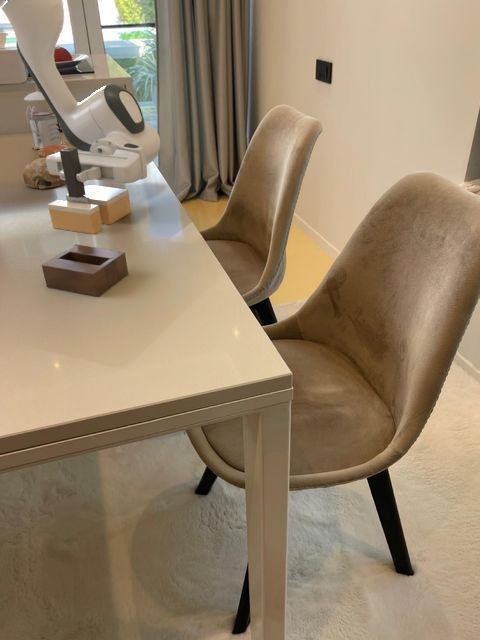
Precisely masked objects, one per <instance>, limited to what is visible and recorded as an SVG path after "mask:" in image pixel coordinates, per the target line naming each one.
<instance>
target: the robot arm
mask: <svg viewBox="0 0 480 640" xmlns="http://www.w3.org/2000/svg"><path fill="white" fill-rule="evenodd" d="M0 9H1V10H2V12H3V13H4V14H5V16H6V18H7V19H8V22H9V24H10V25H11V27H12V30H13V32H14V35H15V38H16V49H17V52H18V55H19V57H20V59H21V61H22V63H23V64H24V67H25V68H26V70H27V72H28V73H29V75H30V77H31V78H32V80H33V82H34V84H35V83H36V85H35V86H37V89H38V90H39V92H41V93H42V95H43V96H44V98H45V99H46V101H45V102H46V103H47V104H48V106H49V108H50V109H51V110H52V111H53V113H54V114H53V115H54V116H56V118H57V122H58V125H59V126H60V129H61V131H62V134H63V135H64V137H65V139H66V141H67V142H68V143H69V145H71V146H72V147H74V148H75V149H77V150H78V155H79V161H80V166H81V171H78V172H76V174H75V176H76V180H77V181H78V182H84V183H85V182H88V181H104V182H110V183H119V184H133V183H135V182H138V181H141V180H144V179H147V177H148V168H147V166H148V165H149V164H151V163H152V162H153V161H154V160H155V159H156V158H157V156H159V153H160V150H161V138H160V136H159V132H157V130H156V128H154V127H153V126H152V125H150V124H149V123H147V122H146V121H145V119H144V115H143V112H142V109H141V106H140V104H139V103H138V101H137V99H136V98H135V96H134V95H133V94H132V93H131V92H130V91H129V90H127V89H126V88H124V87H123V86H121V85H119V84H115V83H107V84H106V85H105V86H103V87H101V88H100V89H98V90H96V91H95V92H93V93H91V95H90V96H88V97H87V98H85V99H84V100H82V101H81V102H79V101H77V100H76V99H75V97H74V96H73V94H72V92H71V91H70V89H69V87H68V85H67V84H66V82H65V80H64V79H63V77H62V75H61V73H60V72H59V70H58V68H57V65H56V62H55V51H56V46H57V43H58V41H59V38H60V36H61V35H62V32H63V28H64V25H65V18H66V13H65V4H64V1H63V0H0ZM46 163H47V168H48V171H49V173H50V174H52V175H60V179H61V180H65V175H64V170H63V166H62V161H61V156H60V152H59V153H55V154H52V155H49V156H47V157H46Z"/></svg>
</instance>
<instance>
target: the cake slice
mask: <svg viewBox="0 0 480 640" xmlns="http://www.w3.org/2000/svg"><path fill="white" fill-rule="evenodd" d="M47 206H48V211H49V215H50V219H51V223H52V228H53V229H55V230H56V229H57V230H63V231H64V230H65V231H71V232H76V233H83V234H90V235H96V234H97V233H99V232H101V231H102V230H103V229H104V228H103V223H102V222H101V216H100V210H99V205H93V204H85V203H78V202H70V201H67V200H61V199H55V200H54V201H52V202H49V203H48V204H47Z"/></svg>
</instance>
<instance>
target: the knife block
mask: <svg viewBox="0 0 480 640" xmlns="http://www.w3.org/2000/svg"><path fill="white" fill-rule="evenodd" d="M41 268H42V272H43V277H44V281H45V285H46V287H47V288H50V289H55V290H60V291H66V292H71V293H77V294H81V295H87V296H92V297H96V298H98V297H100V296H101V295H102V294H103V293H106V291H108V290H109V289H110V288H111V287H113V286H114V285H116V283H118V282H119V281H121V280H122V279H123V278H125V277H126V276H127V275H129V270H128V263H127V255H126V252H125V251H119V250H114V249H106V248H102V247H101V248H100V247H94V246H88V245H82V244H77V243H76V244H74V245H73V246H71V247H69V248H67V249H65V250H64V251H62V252H60V253H59V254H57V255H56V256H54V257H52V258H50V259H48V260H47V261H45V262H44V263H42V264H41Z"/></svg>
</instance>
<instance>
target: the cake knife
mask: <svg viewBox="0 0 480 640" xmlns="http://www.w3.org/2000/svg"><path fill="white" fill-rule="evenodd" d="M78 151H79V149H77V148H75V147H74V148H73V147H71V148H65V149H62V150H60V156H61V161H62V166H63V170H64V175H65V180H66V183H65V185H66V190H67V194H66V195H65V198H66V197H67V199H66V201H70V202H78V203H85V204H90V199H89V197H88V196H84V195H86V193H85V182H78V181H77V180H76V176H75V174H76V172H78V171H81V166H80V161H79V155H78Z"/></svg>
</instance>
